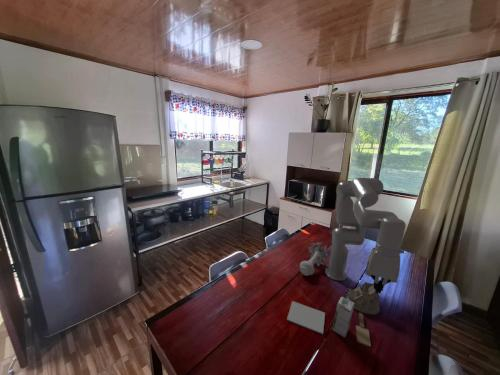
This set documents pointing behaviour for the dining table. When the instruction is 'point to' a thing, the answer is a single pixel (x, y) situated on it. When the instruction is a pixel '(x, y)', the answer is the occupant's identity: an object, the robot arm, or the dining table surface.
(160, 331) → the dining table surface
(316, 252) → the flower vase
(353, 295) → the ceramic cottage
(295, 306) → the mat
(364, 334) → the turner
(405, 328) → the dining table surface
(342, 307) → the syrup box
